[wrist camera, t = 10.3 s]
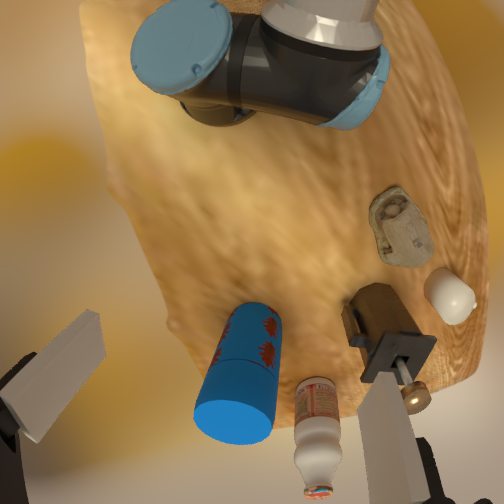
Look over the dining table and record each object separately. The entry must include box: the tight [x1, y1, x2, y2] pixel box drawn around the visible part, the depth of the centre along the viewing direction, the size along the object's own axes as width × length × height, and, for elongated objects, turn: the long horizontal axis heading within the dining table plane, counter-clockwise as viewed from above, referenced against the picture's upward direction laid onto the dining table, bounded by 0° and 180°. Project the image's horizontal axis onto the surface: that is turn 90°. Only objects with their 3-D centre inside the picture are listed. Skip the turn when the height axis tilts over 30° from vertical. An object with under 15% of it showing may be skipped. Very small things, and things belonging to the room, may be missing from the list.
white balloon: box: [424, 268, 477, 325], centre depth 44 cm, size 8×10×9 cm
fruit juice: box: [294, 377, 342, 499], centre depth 46 cm, size 9×9×28 cm
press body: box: [341, 282, 437, 385], centre depth 43 cm, size 10×13×17 cm
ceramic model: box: [369, 187, 434, 268], centre depth 41 cm, size 14×11×10 cm
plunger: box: [394, 355, 431, 415], centre depth 35 cm, size 8×8×18 cm
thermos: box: [193, 303, 282, 445], centre depth 44 cm, size 11×11×25 cm
